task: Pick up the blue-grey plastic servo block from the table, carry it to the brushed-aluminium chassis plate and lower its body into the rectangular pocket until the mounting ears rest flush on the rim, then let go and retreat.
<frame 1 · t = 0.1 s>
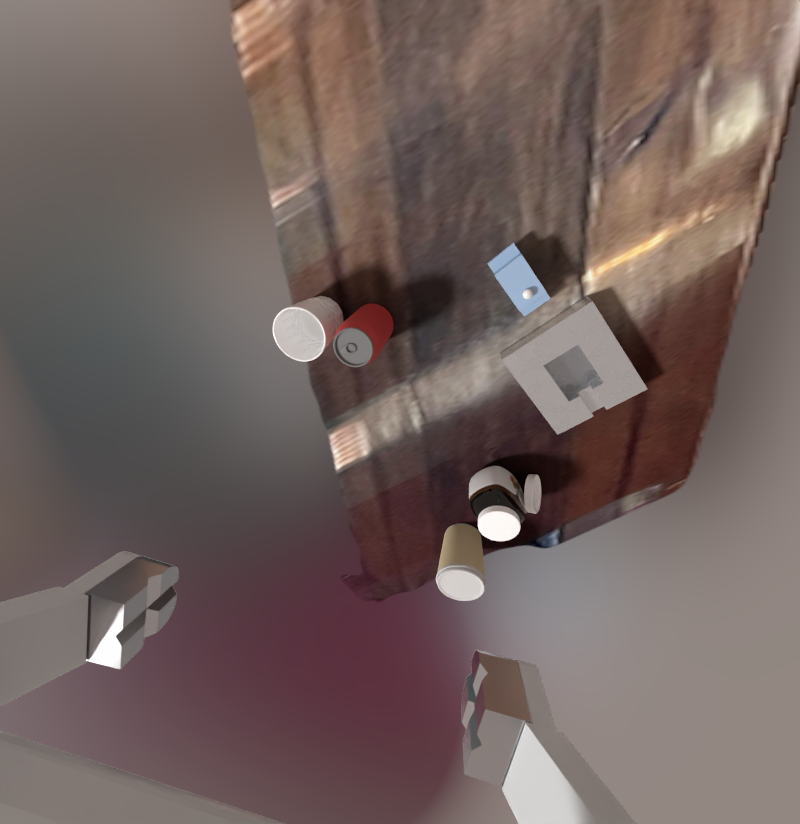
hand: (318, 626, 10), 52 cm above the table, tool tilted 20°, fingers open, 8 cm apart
spread jar: (506, 479, 70), on the table
white cup: (324, 316, 61), on the table
servo: (517, 277, 53), on the table
beer can: (374, 322, 60), on the table
chassis: (568, 366, 57), on the table
coffee cup: (462, 535, 79), on the table
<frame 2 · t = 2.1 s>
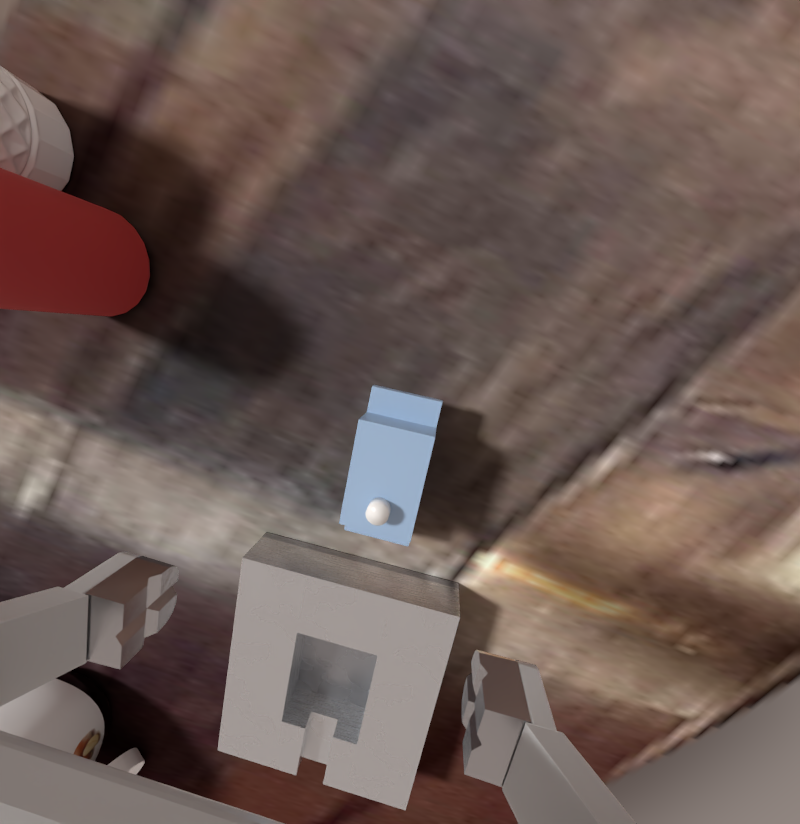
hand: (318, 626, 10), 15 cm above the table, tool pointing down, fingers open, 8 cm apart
spread jar: (96, 715, 32), on the table
white cup: (31, 150, 24), on the table
servo: (397, 453, 24), on the table
beer can: (113, 265, 24), on the table
chassis: (341, 650, 28), on the table
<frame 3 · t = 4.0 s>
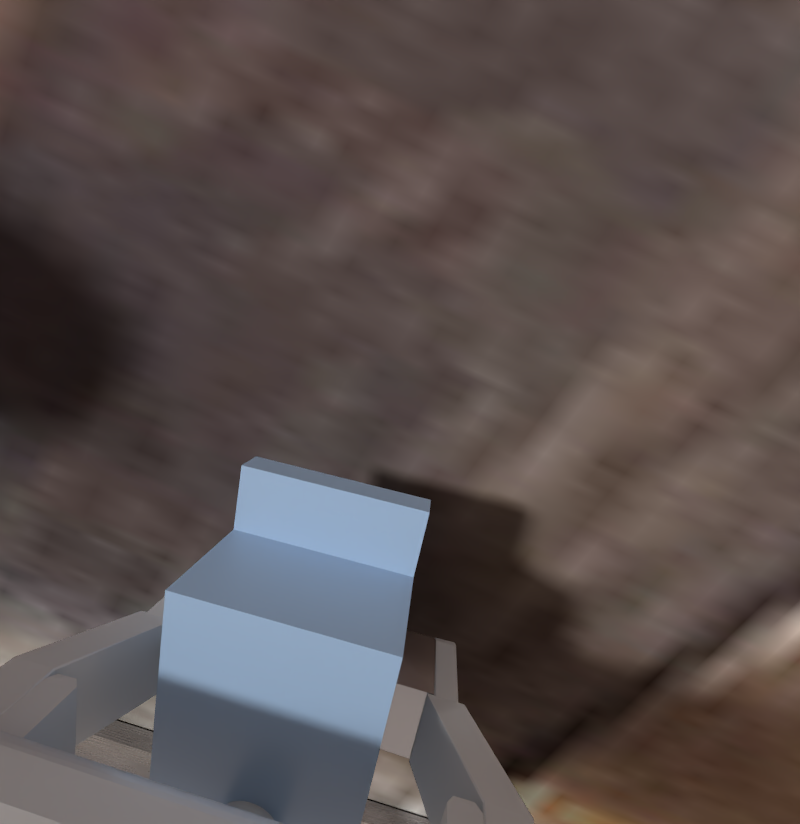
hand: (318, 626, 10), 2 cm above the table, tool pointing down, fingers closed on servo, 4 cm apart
servo: (338, 583, 11), on the table, touching gripper
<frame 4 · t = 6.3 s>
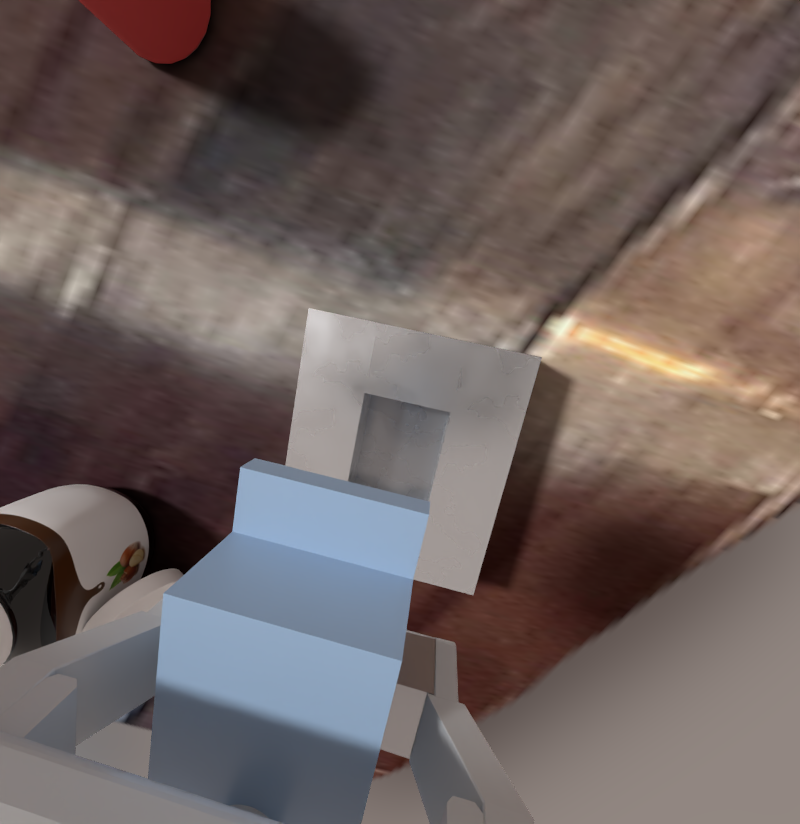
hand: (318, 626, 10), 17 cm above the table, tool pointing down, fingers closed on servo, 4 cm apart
spread jar: (138, 543, 31), on the table
servo: (337, 585, 11), point 16 cm above the table, touching gripper
beer can: (169, 12, 23), on the table
chassis: (401, 444, 26), on the table
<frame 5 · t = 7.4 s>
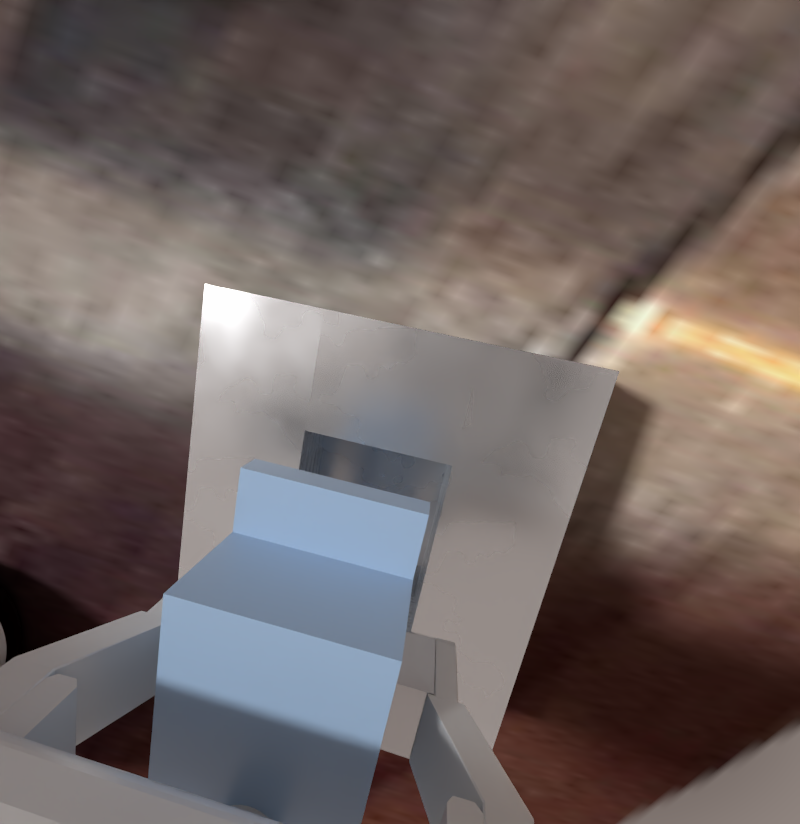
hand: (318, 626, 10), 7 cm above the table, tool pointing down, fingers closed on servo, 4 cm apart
spread jar: (2, 633, 22), on the table
servo: (337, 585, 11), point 6 cm above the table, touching gripper
chassis: (374, 503, 17), on the table
when the fingers open (4 cm above the table, at t = 8.6 s): servo drops 1 cm, resting on chassis.
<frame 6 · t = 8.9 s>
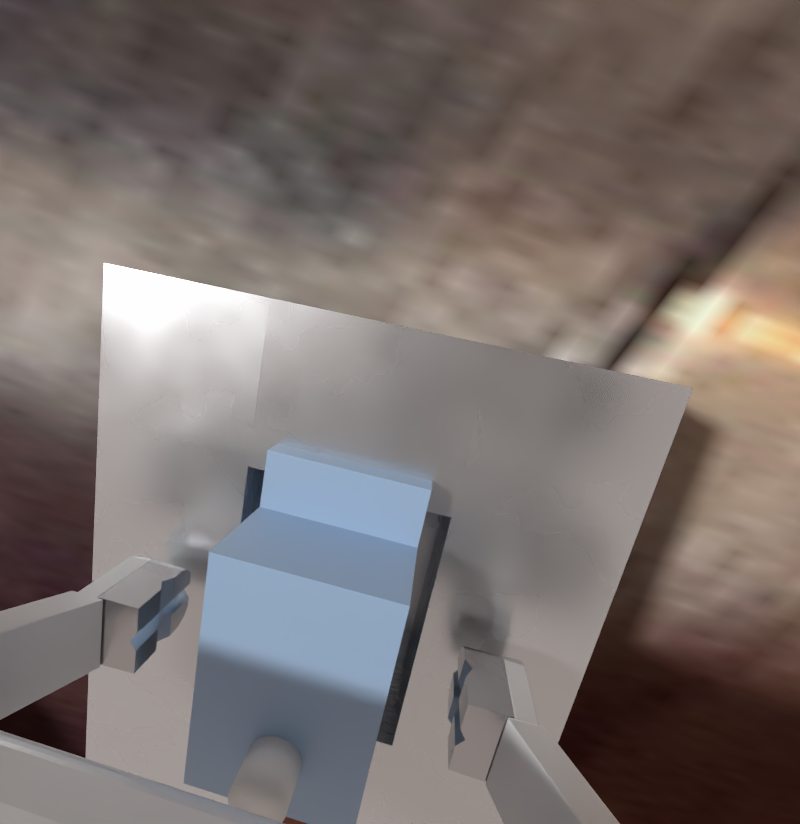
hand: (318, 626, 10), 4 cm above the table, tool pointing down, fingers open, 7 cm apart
servo: (347, 562, 12), point 1 cm above the table, touching chassis
chassis: (352, 549, 13), on the table
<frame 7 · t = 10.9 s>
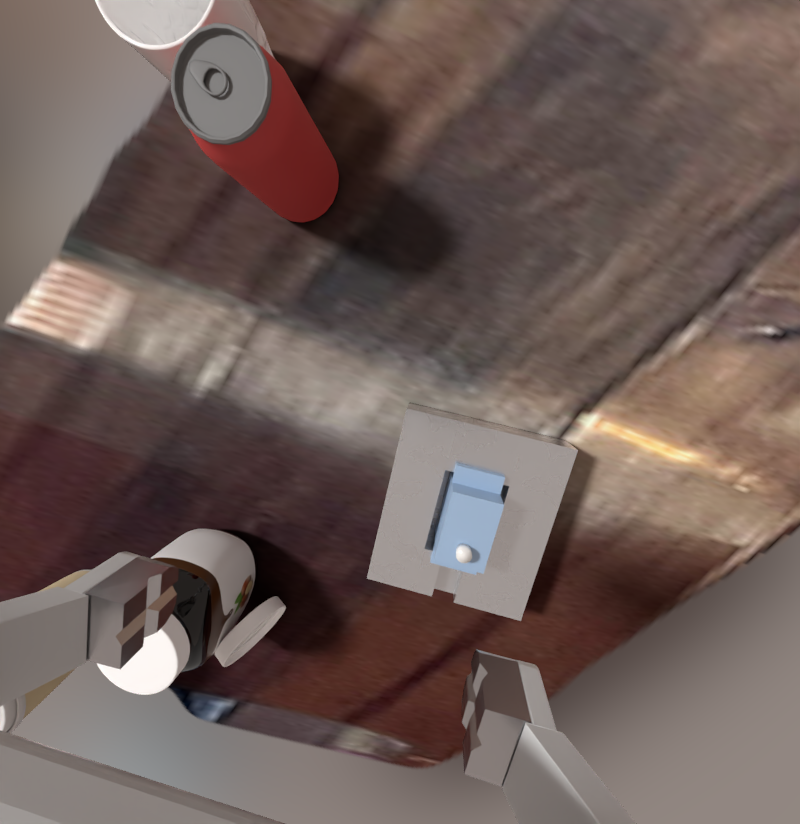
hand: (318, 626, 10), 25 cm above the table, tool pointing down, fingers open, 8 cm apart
spread jar: (241, 574, 39), on the table
white cup: (246, 91, 30), on the table
servo: (464, 506, 34), point 1 cm above the table, touching chassis
beer can: (303, 184, 31), on the table
chassis: (463, 502, 34), on the table
coffee cup: (96, 599, 41), on the table
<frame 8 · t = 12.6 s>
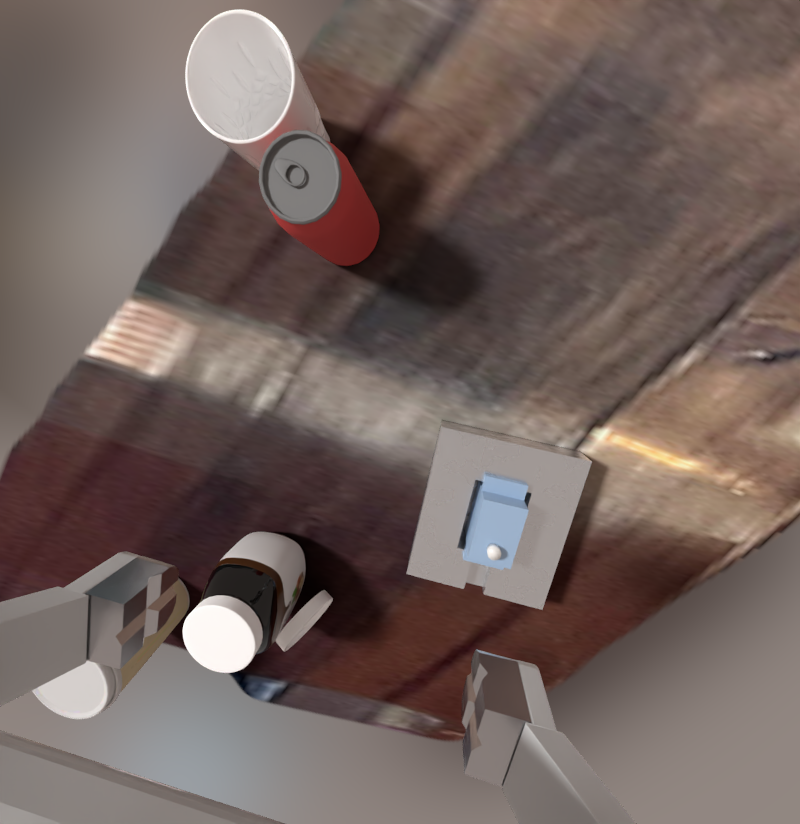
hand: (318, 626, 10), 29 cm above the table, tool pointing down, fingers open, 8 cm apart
spread jar: (292, 571, 44), on the table
white cup: (297, 153, 35), on the table
servo: (490, 510, 38), point 1 cm above the table, touching chassis
beer can: (347, 231, 36), on the table
chassis: (489, 506, 39), on the table
coffee cup: (162, 594, 47), on the table
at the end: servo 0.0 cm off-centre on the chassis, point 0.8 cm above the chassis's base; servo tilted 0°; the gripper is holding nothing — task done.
